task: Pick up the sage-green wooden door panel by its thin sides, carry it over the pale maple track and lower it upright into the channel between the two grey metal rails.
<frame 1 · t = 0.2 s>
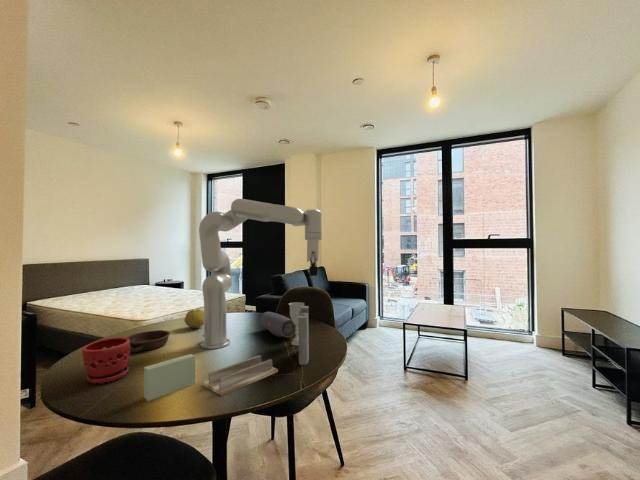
hand: (313, 274, 136), 31 cm above the table, tool pointing down, fingers open, 9 cm apart
fruit: (195, 328, 164), on the table
track: (242, 378, 101), on the table
bluetooth speaker: (277, 334, 151), on the table
chalice: (297, 344, 136), on the table
dish: (148, 347, 135), on the table
plant pot: (107, 378, 102), on the table
hip flask: (304, 357, 119), on the table
door panel: (170, 390, 93), on the table
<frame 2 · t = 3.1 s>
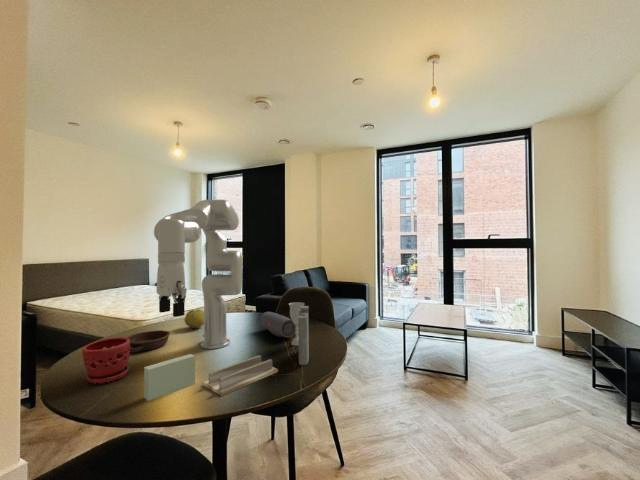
hand: (171, 313, 93), 23 cm above the table, tool pointing down, fingers open, 9 cm apart
nothing on the table moved.
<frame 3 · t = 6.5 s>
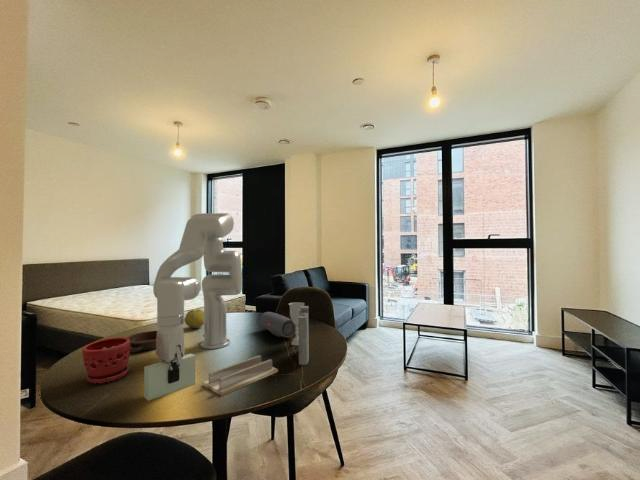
hand: (171, 379, 93), 3 cm above the table, tool pointing down, fingers closed on door panel, 3 cm apart
door panel: (171, 390, 93), on the table, touching gripper
everything else where it was.
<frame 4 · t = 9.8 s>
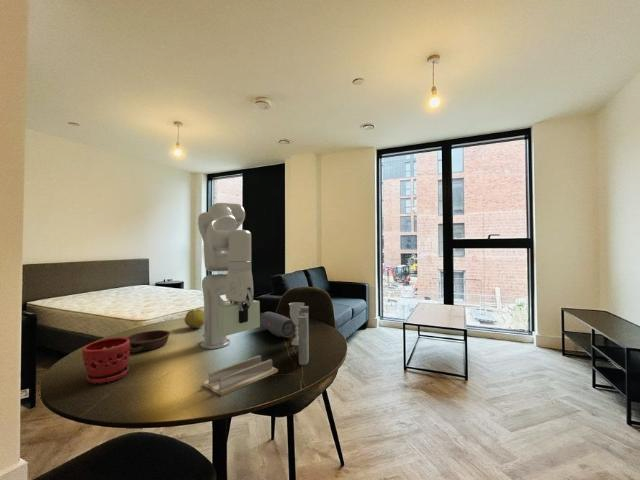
hand: (240, 320, 101), 19 cm above the table, tool pointing down, fingers closed on door panel, 3 cm apart
door panel: (240, 330, 101), point 16 cm above the table, touching gripper
everything else where it was.
when the fingers open (6 cm above the table, at t = 13.4 s): door panel drops 1 cm, resting on track.
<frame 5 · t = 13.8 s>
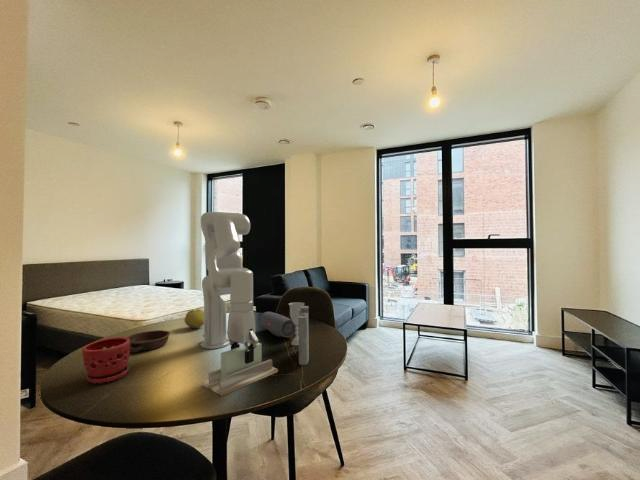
hand: (242, 359, 101), 6 cm above the table, tool pointing down, fingers open, 7 cm apart
door panel: (242, 375, 101), point 1 cm above the table, touching track
everything else where it was.
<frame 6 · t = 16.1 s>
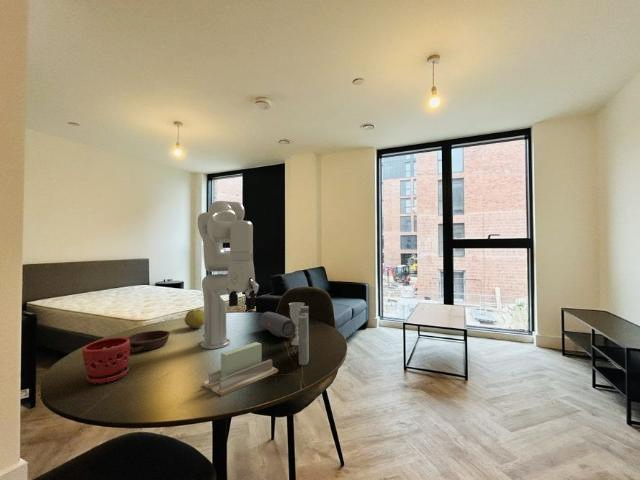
hand: (241, 307, 101), 23 cm above the table, tool pointing down, fingers open, 9 cm apart
nothing on the table moved.
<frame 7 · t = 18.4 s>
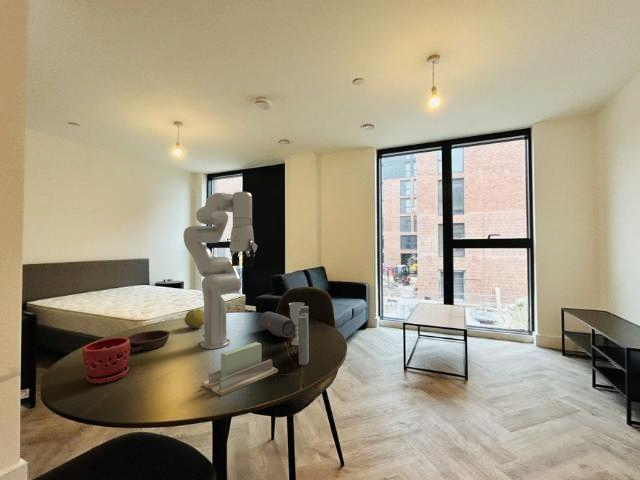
hand: (242, 266, 119), 36 cm above the table, tool pointing down, fingers open, 9 cm apart
nothing on the table moved.
at the end: door panel inside the target area on the track (0.0 cm from its centre), point 1.0 cm above the track's base; door panel tilted 0°; the gripper is holding nothing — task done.
